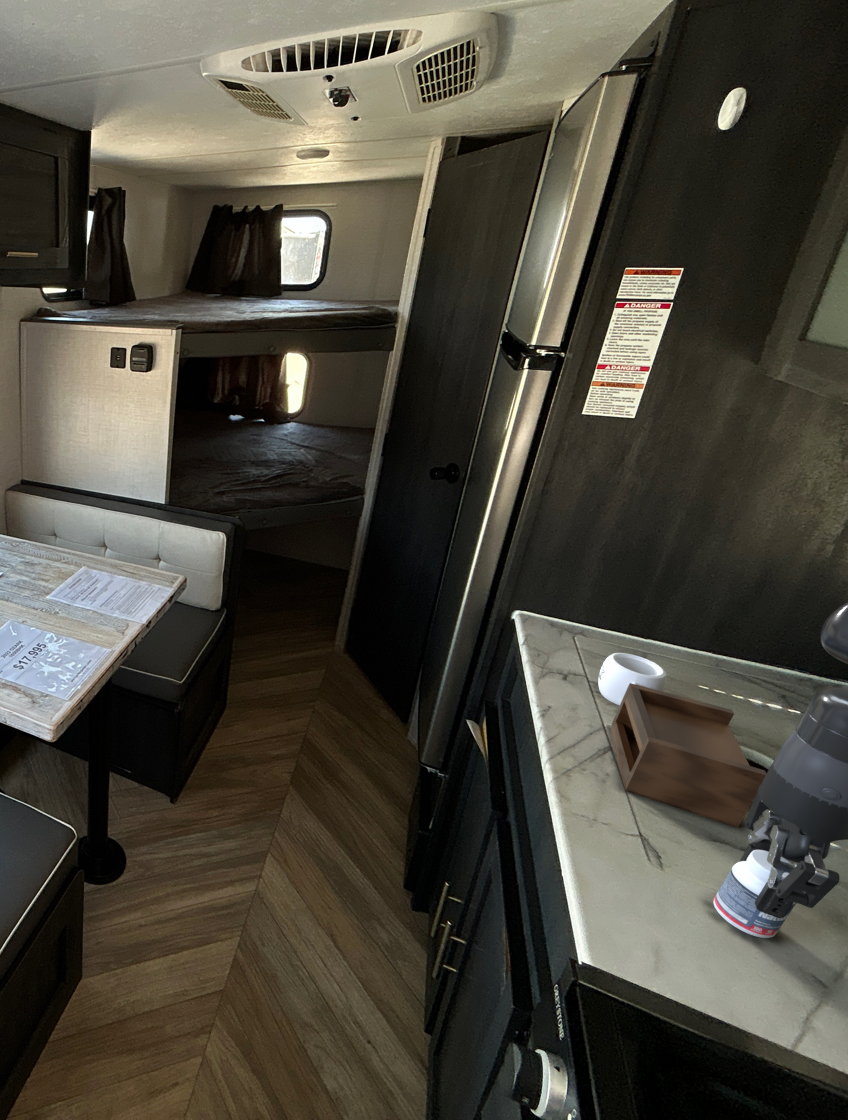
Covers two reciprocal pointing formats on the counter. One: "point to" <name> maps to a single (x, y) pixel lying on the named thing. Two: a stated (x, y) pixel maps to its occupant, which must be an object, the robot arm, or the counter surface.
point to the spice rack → (683, 755)
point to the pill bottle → (748, 896)
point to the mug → (628, 675)
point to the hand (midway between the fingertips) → (758, 890)
